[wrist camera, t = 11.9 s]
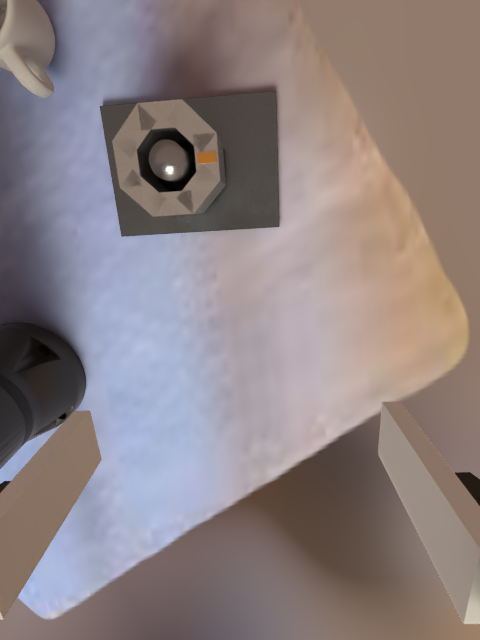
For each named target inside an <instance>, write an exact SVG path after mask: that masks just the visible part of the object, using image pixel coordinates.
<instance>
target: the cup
mask: <svg viewBox="0 0 480 640" xmlns="http://www.w3.org/2000/svg"><path fill="white" fill-rule="evenodd" d="M54 52H55V35H54V30H53V27H52V24H51V22H50V20H49V18H48V16H47V14H46V12H45V11H44V9H43V8H42V6H41V5H40V4H39V2H38V1H37V0H0V68H3V69H5V70H8V71H11V72H12V73H13V74H14V76H15V77H16V78H17V79H18V80H19V82H20V83H21V84H22V85H23V86H24V87H25V88H26V89H28V90H29V91H30V92H32V93H33V94H35V95H37V96H39V97H42V98H46V97H49V96H50V95H52V94H53V92H54V85H53V83H52V81H51V79H50V78H49V76H48V75H47V73H46V72H45V69H46V68H47V67H48V66H49V64H50V63H51V61H52V59H53V56H54Z"/></svg>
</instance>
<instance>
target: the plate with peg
mask: <svg viewBox="0 0 480 640" xmlns="http://www.w3.org/2000/svg"><path fill="white" fill-rule="evenodd" d="M182 100H183V101H184V102H185V103H186V104H187V105H188V106H190V107H191V108H192V109H193V110H194V111H195V112H196V113H197V114H198V115H199V116H200V117H201V118H202V119H203V120H204V121H205V122H206V123H207V124H208V125H209V126H210V127H211V128H212V129H213V130H214V131H215V132H216V133H217V135H218V137H219V139H220V141H221V143H222V145H223V153H224V167H225V181H226V186H225V187H224V188H223V189H222V191H221V192H220V193H219V194H218V196H217V197H216V198H215V199H214V201H213V202H212V203H211V204H210V206H209V207H208V208H207V209H206V211H205V212H204V213H201V214H186V215H171V216H155V217H153V216H152V215H151V214H149V213H148V212H147V211H146V210H145V209H144V208H143V207H141V206H140V205H139V204H138V203H137V202H136V201H135V200H133V199H132V198H131V197H130V196H129V195H128V194H127V193H125V192H124V191H123V190H122V189H121V188H120V186H119V180H118V174H117V167H116V161H115V155H114V149H113V143H112V141H113V139H114V138H115V136H116V135H117V133H118V131H119V130H120V128H121V127H122V125H123V124H124V122H125V121H126V119H127V118H128V116H129V115H130V113H131V112H132V110H133V109H134V107H135V106H136V104H137V103H131V104H119V105H107V106H100V111H101V116H102V122H103V128H104V134H105V140H106V146H107V152H108V158H109V164H110V170H111V176H112V182H113V188H114V194H115V200H116V206H117V212H118V218H119V224H120V230H121V236H137V235H153V234H170V233H186V232H203V231H219V230H235V229H252V228H268V227H279V192H278V149H277V105H276V91H272V92H260V93H248V94H236V95H225V96H213V97H201V98H189V99H182ZM142 103H143V102H142ZM149 163H150V167H151V169H152V171H153V172H154V173H155V174H156V175H157V176H158V178H159V182H160V183H161V184H162V185H163V186H165V187H166V188H167V189H168V190H169V191H170V192H175V191H182V190H183V189H184V188H185V186H186V185H187V184H188V182H189V181H190V180H191V178H192V177H193V176H194V175H195V173H196V161H195V151H194V146H193V145H192V144H191V143H190V142H189V141H186V142H174V141H172V140H161V141H158V142H157V143H156V144H154V146H153V147H152V148H151V151H150V154H149Z"/></svg>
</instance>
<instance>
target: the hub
mask: <svg viewBox="0 0 480 640" xmlns="http://www.w3.org/2000/svg"><path fill="white" fill-rule="evenodd" d="M161 140H172V141H174V142H186V141H189V142H190V143H191V144H192V145H193V146H194V151H195V161H196V173H195V175H194V176H193V177H192V178H191V180H190V181H189V182H188V184H187V185H186V186H185V188H184V189H183V190H182V191H175V192H170V191H169V190H168V189H167V188H166V187H165V186H163V185H162V184H161V183H160V182H159V178H158V176H157V175H156V174H155V173H154V172H153V171H152V169H151V167H150V163H149V154H150V151H151V148H152V147H153V146H154V144H156V143H157V142H158V141H161ZM112 143H113V149H114V155H115V161H116V167H117V174H118V180H119V186H120V188H121V189H122V190H123V191H124V192H125V193H127V194H128V195H129V196H130V197H131V198H132V199H133V200H135V201H136V202H137V203H138V204H139V205H140V206H141V207H143V208H144V209H145V210H146V211H147V212H148V213H149V214H151V215H152V216H153V217H155V216H171V215H186V214H201V213H204V212H205V211H206V209H207V208H208V207H209V206H210V204H211V203H212V202H213V201H214V199H215V198H216V197H217V196H218V194H219V193H220V192H221V191H222V189H223V188H224V187H225V186H226V181H225V167H224V153H223V145H222V143H221V141H220V139H219V137H218V135H217V133H216V132H215V131H214V130H213V129H212V128H211V127H210V126H209V125H208V124H207V123H206V122H205V121H204V120H203V119H202V118H201V117H200V116H199V115H198V114H197V113H196V112H195V111H194V110H193V109H192V108H191V107H190V106H188V105H187V104H186V103H185V102H184V101H183V100H182V99H177V100H166V101H154V102H143V103H137V104H136V106H135V107H134V109H133V110H132V112H131V113H130V115H129V116H128V118H127V119H126V121H125V122H124V124H123V125H122V127H121V128H120V130H119V131H118V133H117V135H116V136H115V138H114V139H113V141H112Z"/></svg>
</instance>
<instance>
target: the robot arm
mask: <svg viewBox="0 0 480 640" xmlns="http://www.w3.org/2000/svg"><path fill="white" fill-rule="evenodd" d="M85 385H86V383H85V375H84V371H83V368H82V365H81V363H80V361H79V359H78V357H77V356H76V354H75V353H74V351H73V350H72V349H71V348H70V347H69V345H68V344H67V343H66V342H64V341H63V340H62V339H61V338H60V337H58V336H57V335H55V334H54V333H52V332H50V331H48V330H46V329H44V328H42V327H39V326H36V325H32V324H26V323H10V324H5V325H1V326H0V469H1V468H2V467H3V465H4V464H5V463H6V462H7V461H8V460H9V459H10V458H11V457H12V456H13V455H14V454H15V453H16V452H17V451H18V450H19V449H20V448H21V447H22V446H23V445H24V444H25V443H26V442H27V441H29V440H31V439H33V438H35V437H37V436H39V435H41V434H43V433H45V432H47V431H49V430H51V429H53V428H55V427H57V426H59V425H60V424H62V423H63V422H64V421H65V422H64V423H63V424H62V425H61V426H60V427H59V428H58V429H57V431H56V432H55V433H54V434H53V435H52V436H51V437H50V438H49V439H48V441H47V442H46V443H45V444H44V445H43V446H42V447H41V448H40V450H39V451H38V452H37V453H36V454H35V455H34V456H33V457H32V458H31V460H30V461H29V462H28V463H27V464H26V465H25V466H24V467H23V468H22V470H21V471H20V472H19V473H18V474H17V475H16V476H15V477H14V478H13V480H12V481H4V482H3V483H1V484H0V620H3V619H4V618H5V616H6V615H7V613H8V612H9V610H10V608H11V607H12V605H13V603H14V602H15V600H16V598H17V597H18V595H19V594H20V592H21V590H22V589H23V587H24V585H25V584H26V582H27V581H28V579H29V577H30V576H31V574H32V572H33V571H34V569H35V567H36V566H37V564H38V563H39V561H40V559H41V558H42V556H43V554H44V553H45V551H46V550H47V548H48V546H49V545H50V543H51V541H52V540H53V538H54V536H55V535H56V533H57V532H58V530H59V528H60V527H61V525H62V523H63V522H64V520H65V519H66V517H67V515H68V514H69V512H70V510H71V509H72V507H73V505H74V504H75V502H76V501H77V499H78V497H79V496H80V494H81V492H82V491H83V489H84V488H85V486H86V484H87V483H88V481H89V479H90V478H91V476H92V474H93V473H94V471H95V470H96V468H97V466H98V465H99V463H100V461H101V460H102V459H101V455H100V451H99V447H98V442H97V438H96V434H95V429H94V425H93V421H92V417H91V412H90V411H75V410H76V409H77V408H78V406H79V405H80V403H81V401H82V399H83V397H84V393H85ZM378 455H379V457H380V459H381V461H382V463H383V465H384V467H385V469H386V471H387V473H388V475H389V477H390V479H391V481H392V483H393V485H394V487H395V489H396V491H397V493H398V495H399V497H400V499H401V501H402V503H403V505H404V507H405V509H406V511H407V513H408V515H409V517H410V519H411V520H412V522H413V524H414V527H415V529H416V531H417V533H418V535H419V537H420V538H421V540H422V542H423V544H424V546H425V548H426V550H427V552H428V554H429V556H430V558H431V560H432V562H433V564H434V566H435V568H436V570H437V572H438V574H439V576H440V578H441V580H442V582H443V584H444V586H445V588H446V590H447V592H448V594H449V596H450V598H451V600H452V602H453V604H454V606H455V608H456V610H457V612H458V614H459V616H460V618H461V620H462V622H463V624H480V479H478V478H477V477H476V476H474V475H473V474H471V473H470V472H468V473H465V472H463V473H454V472H453V471H452V469H451V468H450V467H449V465H448V464H447V462H446V461H445V460H444V458H443V457H442V456H441V455H440V453H439V452H438V451H437V449H436V448H435V447H434V445H433V444H432V443H431V441H430V440H429V439H428V438H427V436H426V435H425V433H424V432H423V431H422V430H421V428H420V427H419V426H418V424H417V423H416V422H415V420H414V419H413V418H412V416H411V415H410V414H409V412H408V411H407V410H406V409H405V407H404V406H403V405H402V403H401V402H400V401H398V402H382V411H381V423H380V435H379V447H378Z"/></svg>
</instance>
